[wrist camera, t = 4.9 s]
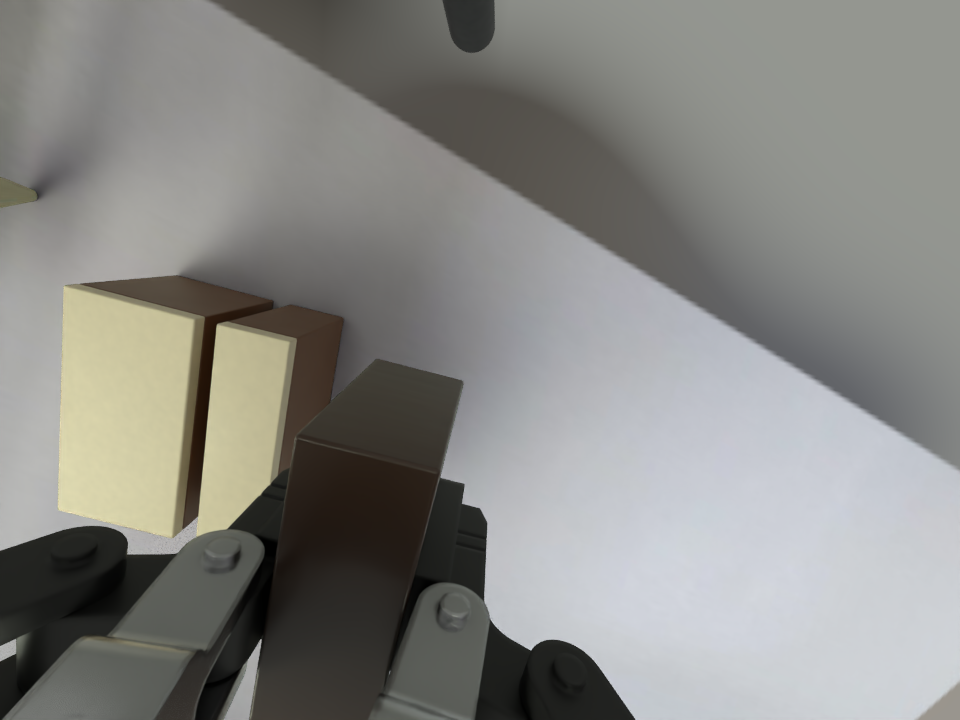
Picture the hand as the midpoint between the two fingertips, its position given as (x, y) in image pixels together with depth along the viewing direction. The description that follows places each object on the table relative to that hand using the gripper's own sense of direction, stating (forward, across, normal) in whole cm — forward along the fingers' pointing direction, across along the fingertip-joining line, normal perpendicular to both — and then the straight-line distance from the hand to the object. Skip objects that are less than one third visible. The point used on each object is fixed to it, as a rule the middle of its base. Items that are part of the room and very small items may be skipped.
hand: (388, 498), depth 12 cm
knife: (0, 0, +4) cm, 5 cm away
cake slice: (+10, +6, +3) cm, 12 cm away
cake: (+10, +11, +3) cm, 15 cm away
